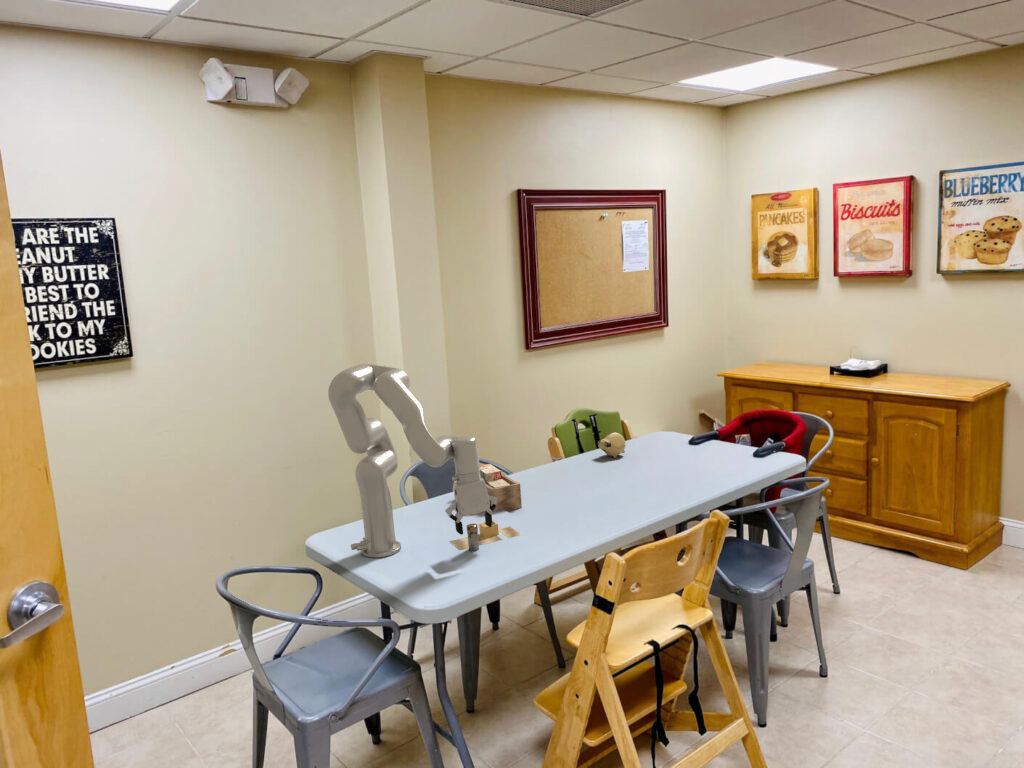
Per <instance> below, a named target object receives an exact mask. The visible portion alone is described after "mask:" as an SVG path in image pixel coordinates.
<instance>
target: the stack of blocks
mask: <svg viewBox="0 0 1024 768" xmlns="http://www.w3.org/2000/svg"><path fill="white" fill-rule="evenodd" d="M480 474H481V478H483V479H484V481H485V484H487V485H489V486H490V487H492V488H494V489H495V488H499V487H504V486H508V485H510V484H508V483H507V482H506V481H504V480H503V479H502V476H501V474H502V470H500V469H498V468H497V467H495V466H494V465H492V464H491V463H489V464H488V463H487V464H484V465H483V464H482V465H480Z"/></svg>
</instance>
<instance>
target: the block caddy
mask: <svg viewBox="0 0 1024 768" xmlns="http://www.w3.org/2000/svg"><path fill="white" fill-rule="evenodd" d="M501 476H502V479H503V480H504V481H506V482H507V483H508V484H510V485H508V486H504V487H499V488H495V489H494V488H492V487H490V486H489V485H487V484H486V488H487V492H488V495H490V496H493V497H496V498H498V501H497V504H496V507H495V509H494V510H493V512H495V511H500V510H504V511H506V512H509V511H513V510H518V509H521V508H522V507H523V506H522V494H521V493H522V492H521V484H520V482H517V481H515V480H514V479H512V478H509V477H508V476H506V475H504V474H502V473H501ZM489 503H490V504H491V503H492V500H489Z"/></svg>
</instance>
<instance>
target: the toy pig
mask: <svg viewBox="0 0 1024 768" xmlns="http://www.w3.org/2000/svg"><path fill="white" fill-rule="evenodd" d="M597 446H598V448H599V449H600V450H601V451H603V452H604V453H605V454H606V455H607V456H610V457H613V458H615V459H616V458H617V457H618V455H620V454H621V455H622V454H625V453H626V450H625V449H626V440H625V438H624V436H623V435H622V434H620V433H619V432H615V431H614V432H611V433H609V434H607V435H606V436H605V437H604V438H602V439H600V440H598V441H597Z"/></svg>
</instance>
